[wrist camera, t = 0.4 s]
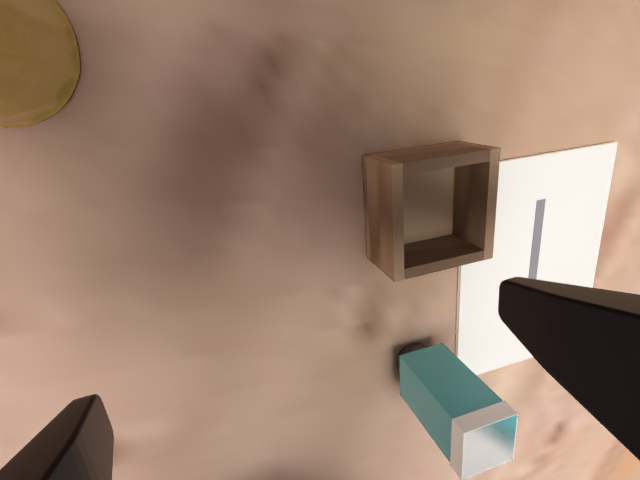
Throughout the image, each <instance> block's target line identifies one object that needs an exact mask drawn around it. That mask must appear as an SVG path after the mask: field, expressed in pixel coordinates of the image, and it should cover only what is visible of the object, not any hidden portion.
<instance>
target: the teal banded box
mask: <svg viewBox="0 0 640 480" xmlns="http://www.w3.org/2000/svg"><path fill="white" fill-rule="evenodd" d="M397 367H398V369H399V370H400V395H401V396H402V397H403V399H404V400H405V402H406V403H407V404H408V406H409V407H410V408H411V410H412V411H413V413H414V414H415V415H416V417H417V418H418V419H419V421H420V422H421V424H422V425H423V426H424V428H425V429H426V430H427V432H428V433H429V435H430V436H431V437H432V439H433V440H434V441H435V443H436V444H437V445H438V447H439V448H440V450H441V451H442V452H443V454H444V455H445V456H446V458H447V459H448V461H449V462H450V465H451V467H452V468H453V470H454V471H455V472H456V474H457V475H458V476H459V478H460V479H461V480H464V479H466V478H469V477H471V476H474V475H476V474H479V473H481V472H484V471H487V470H489V469H492V468H494V467H497V466H499V465H502V464H504V463H507V462H509V461H512V460H513V456H514V447H515V438H516V430H517V421H518V413H517V412H516V411H515V410H514V409H513V408H512V407H511V406H510V405H509V404H508V403H507V402H506V401H503V400H502V399H501V398H500V397H498V396H497V395H496V394H495V393H494V392H493V391H492V390H491V389H490V388H489V387H488V386H487V385H486V384H485V383H484V382H483V381H482V380H481V379H480V378H479V377H478V376H476V375H475V374H474V373H473V372H472V371H471V370H470V369H469V368H468V367H467V366H466V365H465V364H464V363H463V362H462V361H461V360H460V359H459V358H458V357H457V356H456V355H454V354H453V353H452V352H451V351H450V350H449V349H448V348H447V347H446V346H445V345H444V344H443V343H440V344H437V345H434V346H430V347H427V348H425V347H424V346H423V345H422V344H411V345H409V346H407V347H405V348H404V349H403V350H402V351H401V352H400V354H399V356H398V358H397Z"/></svg>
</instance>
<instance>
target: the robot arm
mask: <svg viewBox="0 0 640 480" xmlns="http://www.w3.org/2000/svg"><path fill="white" fill-rule="evenodd" d="M498 313H499V316H500V318H501V320H502V321H503V323H504V324H505V325H506V326H507V327H508V328H509V329H510V331H511V332H512V333H513V334H514V335H515V336H516V338H517V339H518V340H519V341H520V342H521V343H522V344H523V346H524V347H525V348H526V349H527V350H528V351H529V352H530V354H531V355H532V356H533V357H534V358H535V359H536V360H537V362H538V363H539V364H540V365H541V366H542V367H543V368H544V369H545V370H546V371H547V372H548V373H549V374H550V375H551V376H552V377H553V378H554V379H555V380H556V381H557V382H558V383H559V384H560V385H561V386H562V387H563V388H564V389H565V390H567V391H568V392H569V393H570V394H571V395H572V396H573V397H574V398H575V399H576V400H577V401H578V402H579V403H580V404H581V405H582V406H583V407H584V408H585V409H586V410H587V411H588V412H589V413H591V414H592V415H593V416H594V417H595V418H596V419H597V420H598V421H599V422H600V423H601V424H602V425H603V426H604V427H605V428H606V429H607V430H608V431H609V432H610V433H611V434H612V435H614V436H615V437H616V438H617V439H618V440H619V441H620V442H621V443H622V444H623V445H624V446H625V447H626V448H627V449H628V450H629V451H630V452H631V453H632V454H633V455H634V456H635V457H637V458H638V459H639V460H640V295H637V294H631V293H624V292H617V291H611V290H604V289H597V288H591V287H584V286H577V285H570V284H564V283H557V282H550V281H544V280H537V279H530V278H524V277H513V278H510V279H506V280H503V281H502V282H501V283H500V286H499V302H498ZM113 444H114V436H113V430H112V426H111V423H110V421H109V418H108V415H107V413H106V410H105V407H104V405H103V402H102V400H101V398H100V396H99V395H97V394H93V395H89V396H86V397H82V398H78V399H75V400H73V401H72V402H71V403H70V404H68V405H67V406H66V407H65V408H64V409H63V410H62V411H61V412H60V413H59V414H58V415H57V416H56V417H55V418H54V419H53V420H52V421H51V422H50V423H49V424H48V425H47V426H46V427H44V428H43V429H42V430H41V431H40V432H39V433H38V434H37V435H36V436H35V437H34V438H33V439H32V440H31V441H30V442H29V443H28V444H27V445H26V446H25V447H24V448H23V449H21V450H20V451H19V452H18V453H17V454H16V455H15V456H14V457H13V458H12V459H11V460H10V461H9V462H8V463H7V464H6V465H5V466H4V467H3V468H2V469H1V470H0V480H112V465H113Z"/></svg>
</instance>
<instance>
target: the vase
mask: <svg viewBox="0 0 640 480" xmlns="http://www.w3.org/2000/svg"><path fill="white" fill-rule="evenodd" d="M79 74H80V58H79V51H78V45H77V41H76V37H75V34H74V31H73V29H72V26H71V25H70V23H69V21H68V19H67V17H66V15H65V14H64V12H63V11H62V9H61V8H60V6H59V5H58V4H57V2H56V1H55V0H0V127H21V126H28V125H32V124H35V123H38V122H40V121H43V120H45V119H47V118H48V117H50V116H52V115H53V114H55V113H56V112H58V111H59V110H60V109H61V108H62V107H63V106H64V105H65V104H66V103H67V101H68V100H69V98H70V97H71V96H72V93H73V91H74V89H75V87H76V84H77V81H78V78H79Z"/></svg>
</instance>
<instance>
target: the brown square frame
mask: <svg viewBox="0 0 640 480" xmlns="http://www.w3.org/2000/svg"><path fill="white" fill-rule="evenodd" d="M500 149H501V148H498V147H492V146H486V145H480V144H474V143H468V142H462V141H455V142H448V143H441V144H435V145H428V146H421V147H415V148H408V149H401V150H394V151H388V152H381V153H374V154H368V155H362V165H363V184H364V204H365V223H366V243H367V258H368V259H369V260H370V261H371V262H373V263H374V264H375V265H376V266H377V267H378V268H379V269H380V270H382V271H383V272H384V273H385V274H386V275H387V276H388V277H390V278H391V279H392V280H393V281H394V282H395V281H399V280H403V279H408V278H412V277H416V276H420V275H424V274H428V273H433V272H437V271H441V270H445V269H449V268H453V267H458V266H462V265H466V264H470V263H474V262H478V261H483V260H487V259H491V258H493V247H494V233H495V219H496V205H497V191H498V177H499V163H500Z"/></svg>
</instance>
